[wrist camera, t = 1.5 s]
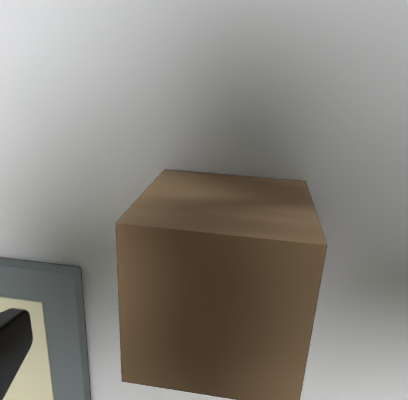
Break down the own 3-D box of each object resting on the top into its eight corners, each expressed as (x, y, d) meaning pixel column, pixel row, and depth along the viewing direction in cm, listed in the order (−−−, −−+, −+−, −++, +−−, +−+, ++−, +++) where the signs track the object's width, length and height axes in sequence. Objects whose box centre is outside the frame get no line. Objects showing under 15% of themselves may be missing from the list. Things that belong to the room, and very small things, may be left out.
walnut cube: (305, 180, 13) (327, 245, 9) (288, 301, 15) (298, 409, 10) (165, 168, 14) (115, 223, 9) (164, 286, 16) (121, 381, 11)
